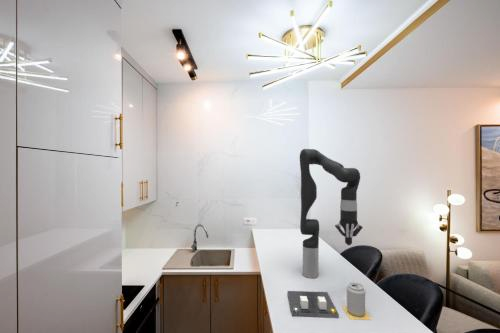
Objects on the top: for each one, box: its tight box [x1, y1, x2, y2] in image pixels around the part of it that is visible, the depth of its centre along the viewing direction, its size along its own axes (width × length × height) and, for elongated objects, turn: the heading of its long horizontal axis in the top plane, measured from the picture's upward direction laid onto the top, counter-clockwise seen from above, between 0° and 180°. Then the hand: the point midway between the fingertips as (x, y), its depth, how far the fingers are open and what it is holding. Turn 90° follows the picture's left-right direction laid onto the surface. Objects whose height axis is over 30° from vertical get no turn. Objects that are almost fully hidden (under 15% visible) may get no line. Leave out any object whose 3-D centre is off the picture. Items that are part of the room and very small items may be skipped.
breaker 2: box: [318, 297, 327, 310], centre depth 107 cm, size 4×3×4 cm
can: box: [346, 281, 366, 316], centre depth 105 cm, size 8×8×12 cm
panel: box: [286, 290, 340, 319], centre depth 111 cm, size 18×20×3 cm
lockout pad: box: [342, 305, 372, 321], centre depth 105 cm, size 9×9×1 cm
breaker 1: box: [300, 296, 308, 309], centre depth 107 cm, size 4×3×4 cm
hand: (348, 244), depth 115 cm, fingers closed
